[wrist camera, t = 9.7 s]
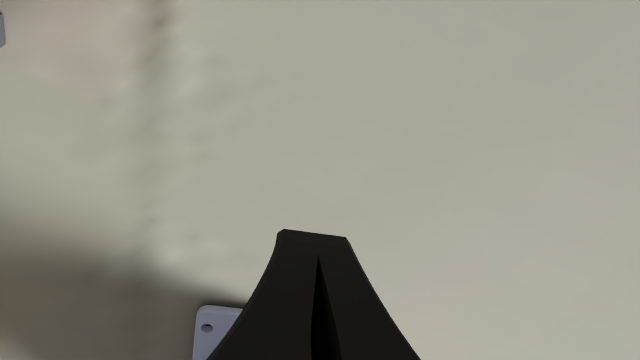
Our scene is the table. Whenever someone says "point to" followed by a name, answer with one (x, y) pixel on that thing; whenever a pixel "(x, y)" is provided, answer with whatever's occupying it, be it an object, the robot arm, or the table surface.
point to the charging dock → (2, 31)
